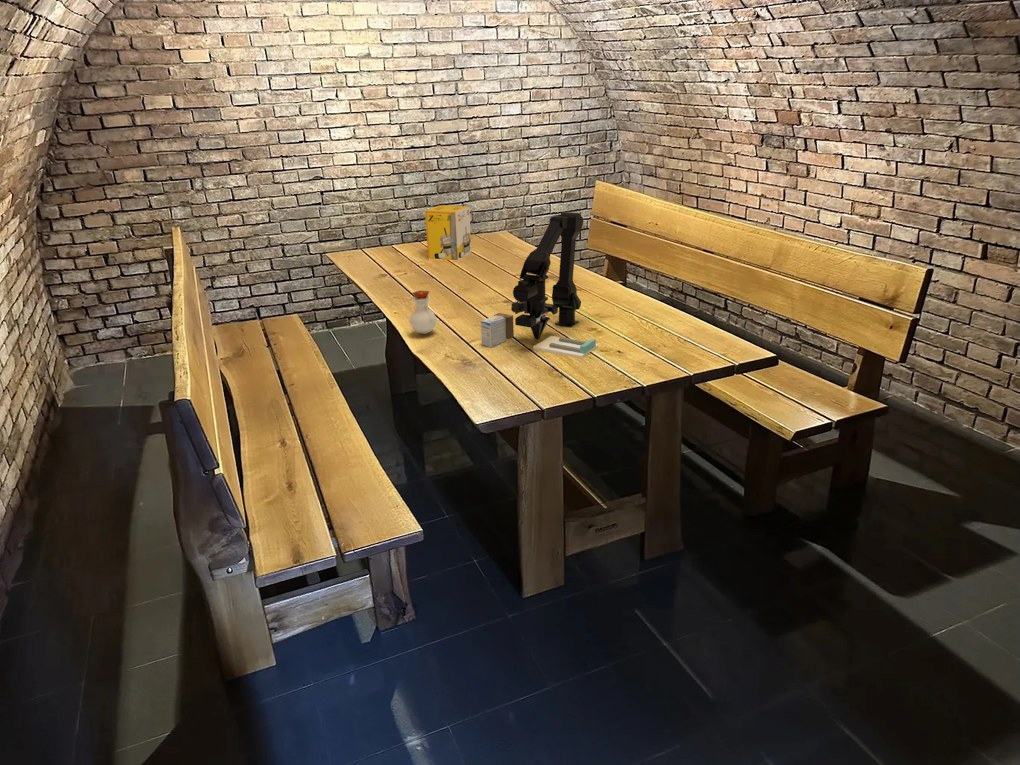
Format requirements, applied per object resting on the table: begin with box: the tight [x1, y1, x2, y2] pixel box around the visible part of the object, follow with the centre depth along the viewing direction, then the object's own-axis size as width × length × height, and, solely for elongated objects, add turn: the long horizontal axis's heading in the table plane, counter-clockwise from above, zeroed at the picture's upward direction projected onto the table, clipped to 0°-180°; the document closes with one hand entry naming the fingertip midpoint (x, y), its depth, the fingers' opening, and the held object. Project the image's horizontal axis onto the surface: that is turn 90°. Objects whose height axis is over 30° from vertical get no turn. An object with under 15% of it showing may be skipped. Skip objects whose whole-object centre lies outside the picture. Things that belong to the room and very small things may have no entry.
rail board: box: [532, 335, 599, 359], centre depth 241 cm, size 12×18×4 cm, turn 57°
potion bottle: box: [409, 290, 437, 335], centre depth 256 cm, size 9×10×15 cm
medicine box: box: [480, 315, 507, 348], centre depth 247 cm, size 8×4×9 cm, turn 141°
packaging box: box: [424, 205, 472, 260], centre depth 359 cm, size 16×16×25 cm
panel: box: [493, 312, 515, 340], centre depth 252 cm, size 3×8×6 cm
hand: (537, 339), depth 247 cm, fingers closed
